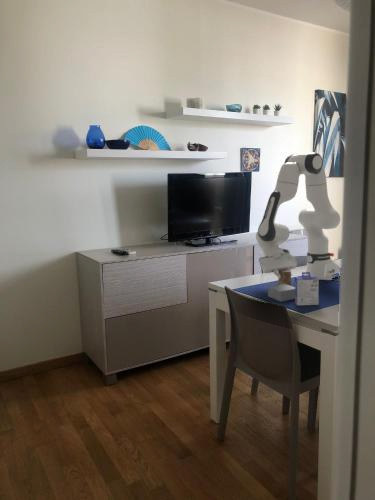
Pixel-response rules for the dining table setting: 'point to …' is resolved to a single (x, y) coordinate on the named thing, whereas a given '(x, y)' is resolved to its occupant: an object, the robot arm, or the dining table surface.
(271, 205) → the robot arm
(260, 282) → the dining table surface
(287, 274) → the brown cylinder
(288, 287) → the white square block
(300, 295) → the ink cartridge box
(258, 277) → the dining table surface
